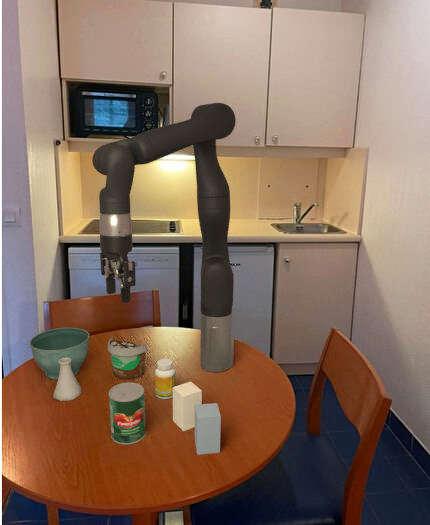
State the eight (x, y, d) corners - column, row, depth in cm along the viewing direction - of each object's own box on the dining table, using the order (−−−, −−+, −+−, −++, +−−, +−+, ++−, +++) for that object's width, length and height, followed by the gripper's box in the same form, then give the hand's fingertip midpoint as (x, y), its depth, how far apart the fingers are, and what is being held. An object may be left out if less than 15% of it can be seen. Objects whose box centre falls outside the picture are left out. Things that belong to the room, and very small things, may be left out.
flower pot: (26, 369, 132) (23, 334, 129) (80, 355, 141) (78, 323, 139) (41, 392, 119) (38, 355, 117) (99, 375, 129) (97, 341, 126)
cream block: (190, 414, 111) (190, 381, 109) (201, 424, 107) (201, 390, 105) (173, 420, 108) (172, 387, 106) (183, 431, 104) (183, 396, 102)
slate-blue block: (216, 438, 102) (217, 403, 99) (220, 452, 97) (220, 416, 95) (194, 440, 101) (194, 404, 99) (197, 454, 96) (197, 417, 94)
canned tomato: (133, 419, 108) (131, 378, 106) (152, 434, 103) (151, 391, 100) (104, 433, 103) (101, 390, 100) (123, 449, 97) (121, 405, 95)
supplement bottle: (156, 389, 122) (155, 357, 120) (176, 389, 122) (175, 357, 120) (154, 400, 117) (153, 366, 114) (175, 399, 117) (174, 366, 115)
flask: (73, 403, 115) (70, 368, 112) (47, 400, 116) (44, 365, 114) (86, 389, 122) (84, 355, 119) (62, 386, 123) (59, 352, 121)
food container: (99, 376, 128) (98, 344, 126) (112, 367, 134) (110, 336, 131) (136, 385, 124) (135, 352, 121) (148, 375, 129) (147, 343, 127)
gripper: (88, 228, 109) (91, 293, 113) (115, 238, 98) (117, 309, 102) (116, 226, 114) (118, 287, 118) (145, 234, 103) (146, 302, 107)
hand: (118, 297), depth 110 cm, fingers open, 7 cm apart
